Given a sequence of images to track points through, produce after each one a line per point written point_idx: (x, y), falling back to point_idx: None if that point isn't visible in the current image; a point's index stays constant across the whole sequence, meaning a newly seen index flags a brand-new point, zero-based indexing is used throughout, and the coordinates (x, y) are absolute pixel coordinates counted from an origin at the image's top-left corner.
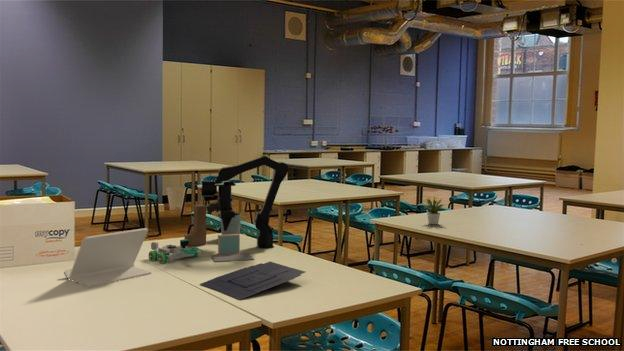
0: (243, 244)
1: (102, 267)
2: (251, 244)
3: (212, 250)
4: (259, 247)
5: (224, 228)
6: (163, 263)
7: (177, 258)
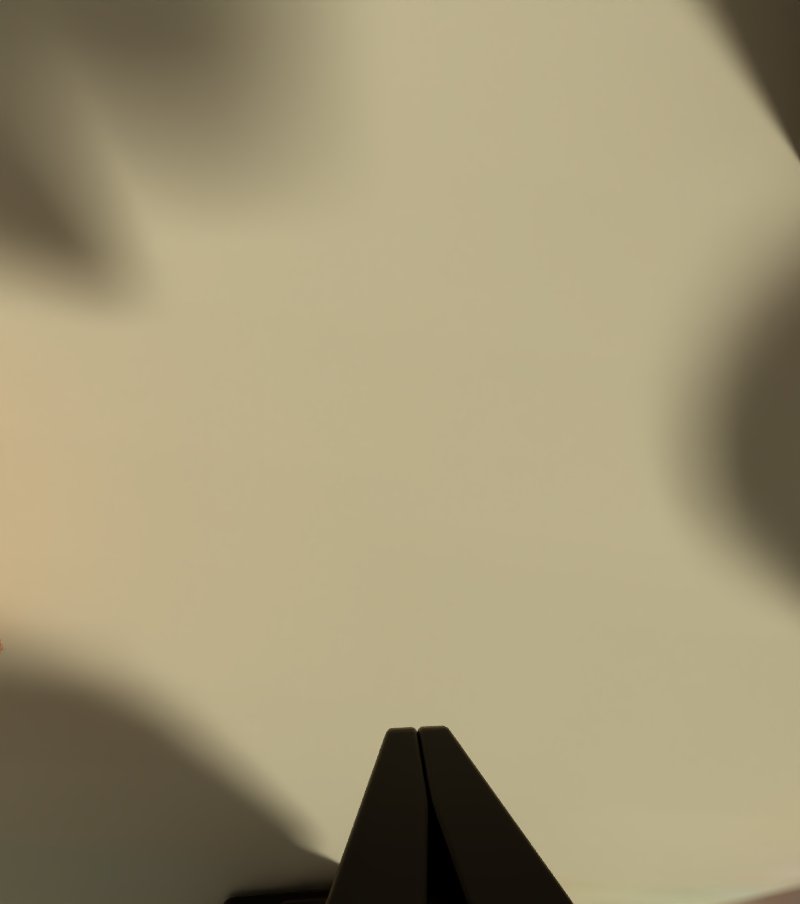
0: (554, 753)
1: None
2: None
3: (194, 229)
4: (246, 898)
5: (366, 803)
6: None
7: None
